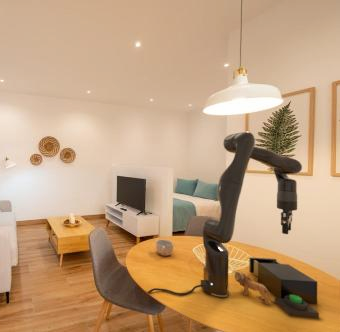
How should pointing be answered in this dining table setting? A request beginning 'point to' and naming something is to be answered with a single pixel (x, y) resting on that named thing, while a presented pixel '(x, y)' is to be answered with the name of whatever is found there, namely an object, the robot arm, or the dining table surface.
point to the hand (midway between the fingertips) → (286, 231)
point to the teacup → (164, 247)
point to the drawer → (254, 262)
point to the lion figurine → (252, 286)
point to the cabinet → (287, 282)
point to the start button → (296, 299)
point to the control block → (296, 308)
